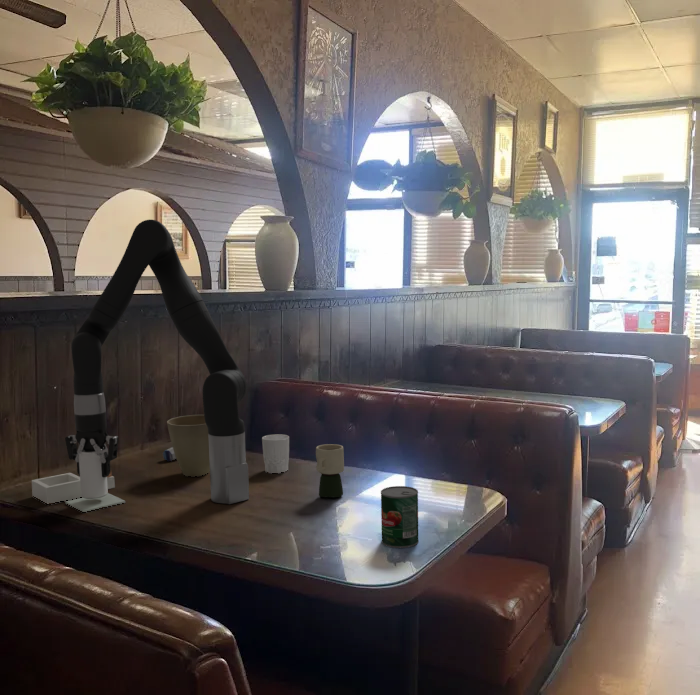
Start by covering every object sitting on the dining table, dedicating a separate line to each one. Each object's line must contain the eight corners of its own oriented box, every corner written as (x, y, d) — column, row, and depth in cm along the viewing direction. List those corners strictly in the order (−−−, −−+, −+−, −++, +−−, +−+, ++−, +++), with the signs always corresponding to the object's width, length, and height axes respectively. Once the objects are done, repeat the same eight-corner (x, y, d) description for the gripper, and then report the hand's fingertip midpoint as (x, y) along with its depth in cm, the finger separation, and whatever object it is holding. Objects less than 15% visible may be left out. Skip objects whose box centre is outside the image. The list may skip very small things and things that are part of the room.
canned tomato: (374, 544, 159) (373, 493, 158) (392, 532, 166) (391, 484, 165) (408, 550, 155) (407, 498, 154) (425, 538, 162) (424, 488, 160)
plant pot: (161, 473, 221) (158, 419, 219) (207, 464, 229) (205, 412, 228) (182, 483, 209) (179, 427, 207) (230, 474, 217) (228, 419, 216)
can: (110, 496, 192) (108, 449, 190) (84, 500, 188) (81, 453, 187) (104, 490, 197) (101, 445, 196) (78, 494, 194) (75, 448, 192)
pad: (125, 503, 192) (125, 500, 192) (83, 513, 185) (83, 510, 185) (106, 494, 200) (106, 492, 200) (65, 503, 193) (65, 501, 193)
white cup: (275, 475, 215) (274, 441, 214) (257, 471, 220) (256, 437, 219) (295, 470, 220) (294, 436, 219) (277, 465, 226) (276, 433, 225)
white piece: (118, 489, 205) (117, 473, 205) (47, 505, 192) (46, 487, 192) (102, 481, 213) (101, 466, 212) (32, 496, 200) (31, 480, 199)
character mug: (329, 489, 200) (328, 441, 198) (353, 492, 196) (351, 443, 195) (308, 501, 190) (306, 450, 189) (332, 504, 187) (331, 453, 186)
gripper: (123, 408, 192) (127, 473, 194) (73, 407, 195) (77, 471, 197) (108, 414, 185) (111, 481, 187) (55, 413, 188) (60, 479, 190)
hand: (94, 475), depth 192 cm, fingers closed on can, 6 cm apart
